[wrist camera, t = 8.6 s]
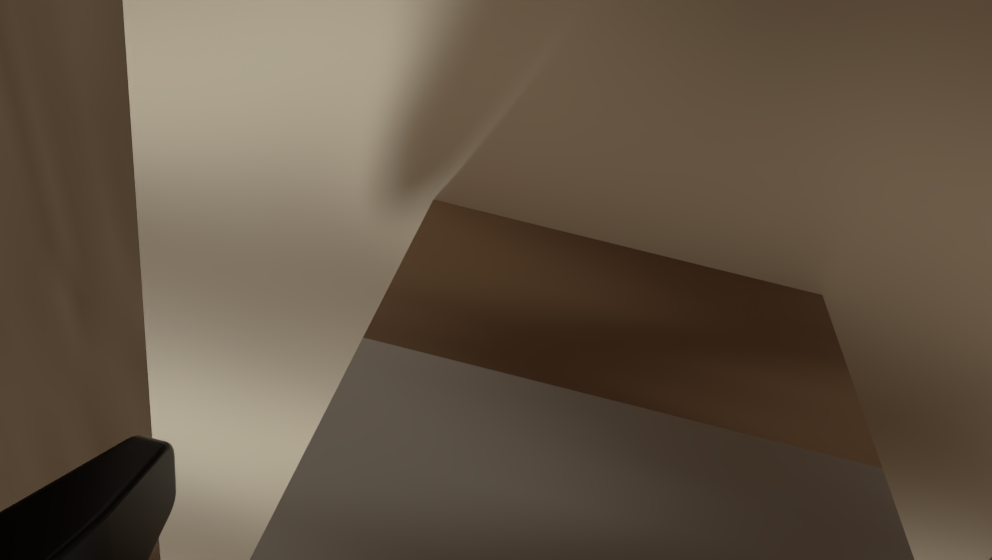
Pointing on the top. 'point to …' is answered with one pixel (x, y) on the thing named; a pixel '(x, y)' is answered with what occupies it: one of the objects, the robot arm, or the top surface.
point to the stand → (558, 202)
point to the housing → (586, 414)
